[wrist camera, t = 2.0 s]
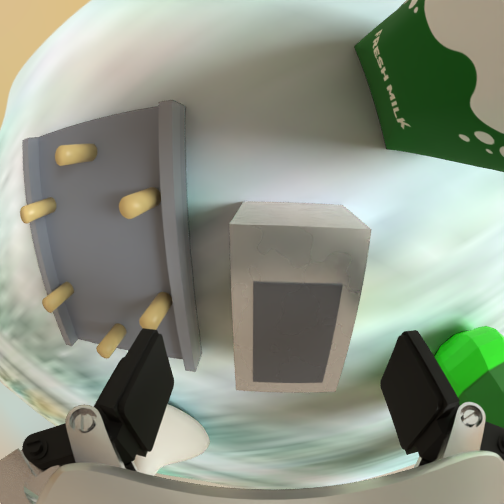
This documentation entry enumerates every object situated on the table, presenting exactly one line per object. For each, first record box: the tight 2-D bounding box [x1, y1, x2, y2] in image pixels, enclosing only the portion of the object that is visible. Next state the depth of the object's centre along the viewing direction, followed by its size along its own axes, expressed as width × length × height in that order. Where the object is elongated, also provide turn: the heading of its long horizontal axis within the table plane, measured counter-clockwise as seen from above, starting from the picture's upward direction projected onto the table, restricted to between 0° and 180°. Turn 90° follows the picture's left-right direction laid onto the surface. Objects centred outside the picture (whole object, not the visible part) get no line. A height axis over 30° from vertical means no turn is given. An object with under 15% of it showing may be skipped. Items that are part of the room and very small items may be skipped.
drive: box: [229, 201, 371, 392], centre depth 15 cm, size 10×6×6 cm, turn 0°
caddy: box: [20, 100, 202, 372], centre depth 16 cm, size 18×13×4 cm
